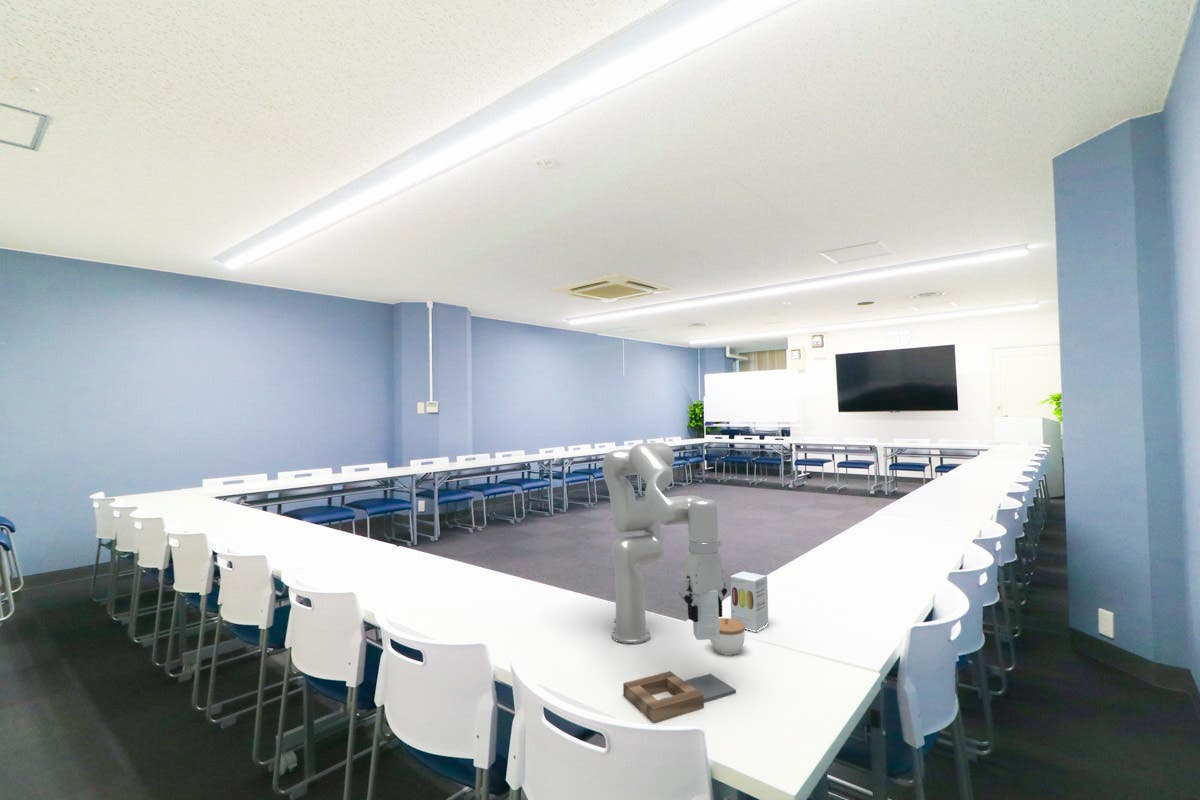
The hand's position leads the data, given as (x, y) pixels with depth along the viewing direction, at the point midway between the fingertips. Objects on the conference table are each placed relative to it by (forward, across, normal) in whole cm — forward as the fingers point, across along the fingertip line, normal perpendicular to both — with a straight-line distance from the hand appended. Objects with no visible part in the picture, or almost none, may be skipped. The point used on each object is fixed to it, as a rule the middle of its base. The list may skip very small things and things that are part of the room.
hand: (705, 617), depth 132 cm
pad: (+18, 0, 0) cm, 18 cm away
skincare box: (+5, 0, 0) cm, 5 cm away
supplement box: (+18, -40, -28) cm, 52 cm away
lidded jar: (+18, -20, -16) cm, 31 cm away
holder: (+18, +14, 0) cm, 22 cm away
